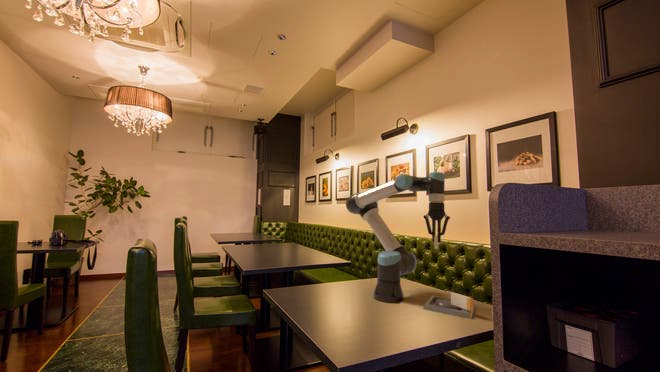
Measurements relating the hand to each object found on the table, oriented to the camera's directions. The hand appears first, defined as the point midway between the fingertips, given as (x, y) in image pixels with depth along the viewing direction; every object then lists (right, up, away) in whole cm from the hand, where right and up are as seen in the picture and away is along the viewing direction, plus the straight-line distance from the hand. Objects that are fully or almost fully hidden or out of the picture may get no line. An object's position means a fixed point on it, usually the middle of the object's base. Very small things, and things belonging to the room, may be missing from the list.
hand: (436, 248), depth 145 cm
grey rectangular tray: (+1, -25, -14) cm, 29 cm away
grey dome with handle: (+2, -24, -16) cm, 29 cm away
